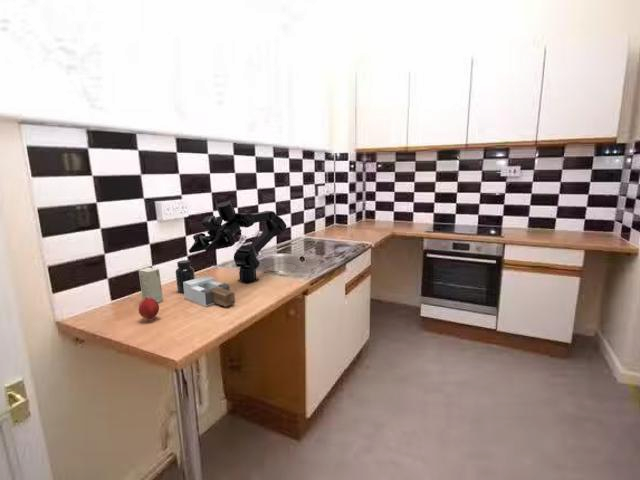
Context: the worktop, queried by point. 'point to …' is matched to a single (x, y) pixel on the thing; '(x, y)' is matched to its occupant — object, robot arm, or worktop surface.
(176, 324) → the worktop surface
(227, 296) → the peg
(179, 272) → the supplement bottle
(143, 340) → the worktop surface
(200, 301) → the sleeve
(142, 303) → the onion
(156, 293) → the skincare box
